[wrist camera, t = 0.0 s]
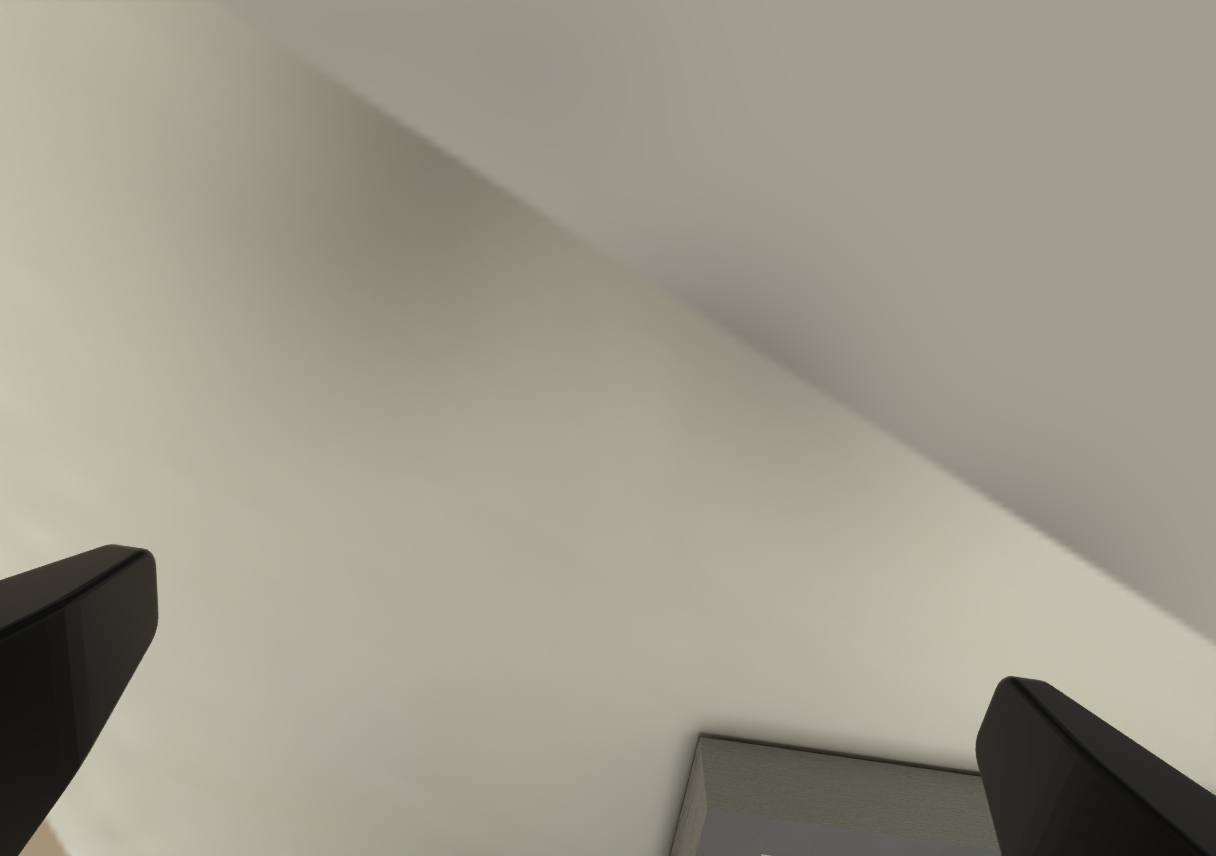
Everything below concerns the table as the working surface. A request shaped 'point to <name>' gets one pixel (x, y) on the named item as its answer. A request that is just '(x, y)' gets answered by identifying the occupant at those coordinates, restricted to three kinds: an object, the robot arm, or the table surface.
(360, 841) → the table surface
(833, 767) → the grey slotted block
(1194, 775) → the table surface
